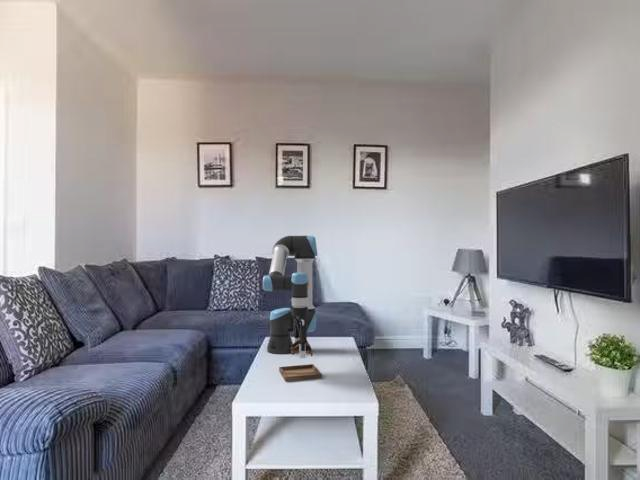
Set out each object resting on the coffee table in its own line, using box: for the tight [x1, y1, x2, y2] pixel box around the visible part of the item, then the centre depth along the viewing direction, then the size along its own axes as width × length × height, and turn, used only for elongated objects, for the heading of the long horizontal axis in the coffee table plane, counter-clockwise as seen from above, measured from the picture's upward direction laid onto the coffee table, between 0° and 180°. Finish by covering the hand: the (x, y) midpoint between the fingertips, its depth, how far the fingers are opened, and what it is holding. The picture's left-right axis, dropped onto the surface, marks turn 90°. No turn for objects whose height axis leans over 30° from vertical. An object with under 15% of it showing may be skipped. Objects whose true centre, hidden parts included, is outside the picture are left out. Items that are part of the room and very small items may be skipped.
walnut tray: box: [278, 363, 323, 383], centre depth 192 cm, size 16×17×2 cm
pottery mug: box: [290, 340, 314, 357], centre depth 193 cm, size 12×10×8 cm
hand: (299, 354), depth 191 cm, fingers closed on pottery mug, 10 cm apart
